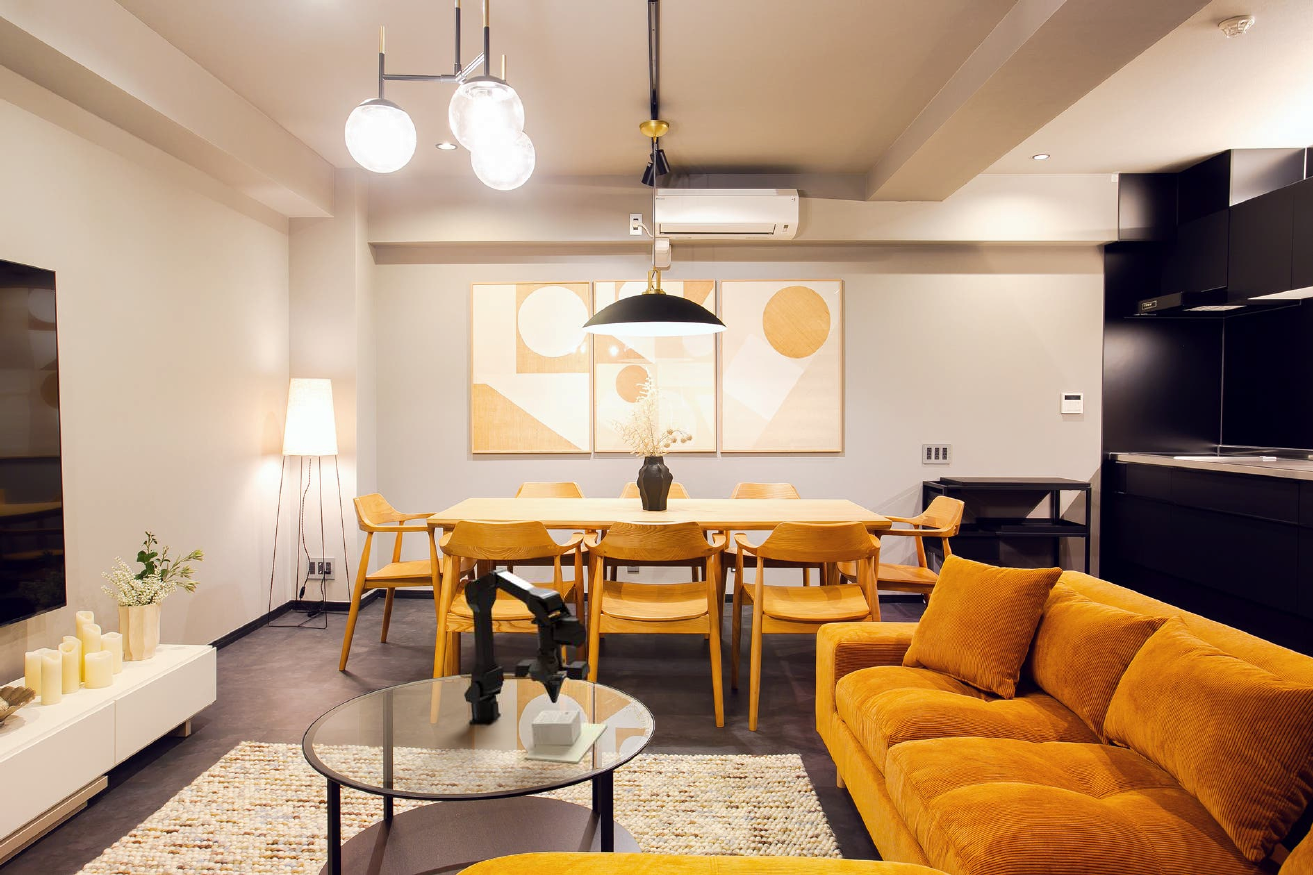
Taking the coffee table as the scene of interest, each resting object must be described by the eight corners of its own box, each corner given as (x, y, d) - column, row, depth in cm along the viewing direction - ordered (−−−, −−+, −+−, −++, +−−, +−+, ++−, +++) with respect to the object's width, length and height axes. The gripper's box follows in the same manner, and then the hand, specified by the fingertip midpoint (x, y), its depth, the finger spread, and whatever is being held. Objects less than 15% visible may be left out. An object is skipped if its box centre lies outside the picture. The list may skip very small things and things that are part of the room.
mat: (524, 758, 173) (524, 756, 173) (559, 722, 193) (559, 721, 193) (577, 763, 169) (577, 761, 169) (607, 726, 189) (607, 724, 189)
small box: (532, 745, 180) (572, 745, 178) (531, 723, 179) (571, 723, 177) (543, 730, 187) (581, 731, 185) (541, 709, 187) (580, 710, 185)
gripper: (501, 651, 176) (506, 713, 176) (571, 653, 171) (575, 718, 171) (522, 637, 187) (527, 695, 187) (588, 638, 181) (593, 699, 182)
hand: (554, 702), depth 181 cm, fingers closed
